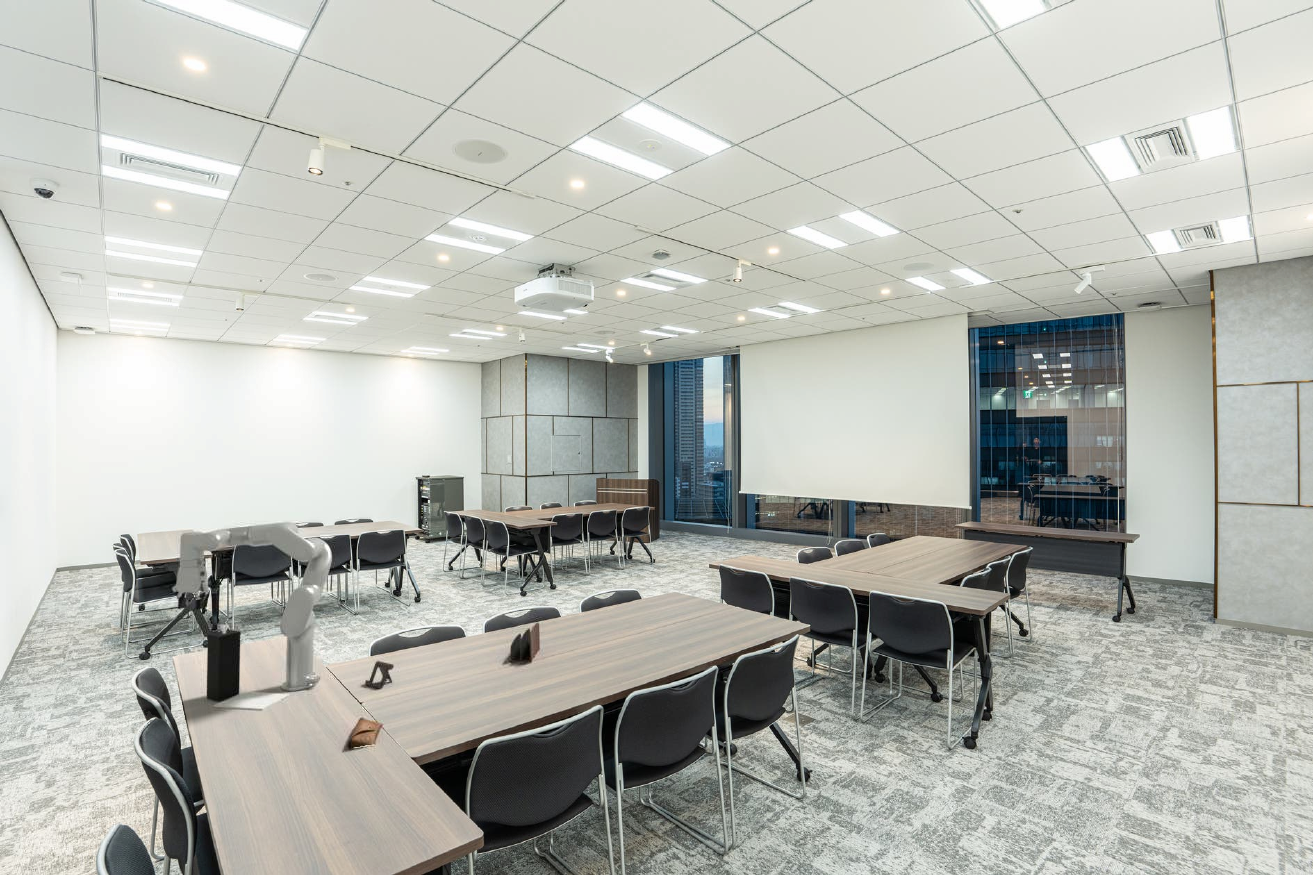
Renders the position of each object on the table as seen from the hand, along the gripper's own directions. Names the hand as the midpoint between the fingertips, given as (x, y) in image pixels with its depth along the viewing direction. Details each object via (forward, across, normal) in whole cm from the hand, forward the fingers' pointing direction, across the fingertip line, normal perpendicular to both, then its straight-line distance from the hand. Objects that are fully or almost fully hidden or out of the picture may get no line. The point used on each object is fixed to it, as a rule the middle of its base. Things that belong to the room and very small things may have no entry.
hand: (190, 608), depth 242 cm
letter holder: (+34, -114, -64) cm, 136 cm away
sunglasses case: (+34, -91, +23) cm, 100 cm away
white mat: (+34, -30, +2) cm, 45 cm away
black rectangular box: (+34, -15, 0) cm, 37 cm away
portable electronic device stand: (+34, -68, -21) cm, 79 cm away
